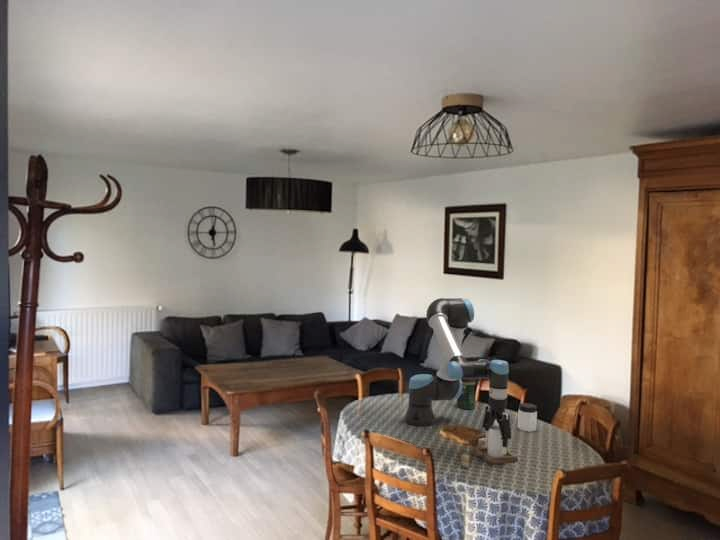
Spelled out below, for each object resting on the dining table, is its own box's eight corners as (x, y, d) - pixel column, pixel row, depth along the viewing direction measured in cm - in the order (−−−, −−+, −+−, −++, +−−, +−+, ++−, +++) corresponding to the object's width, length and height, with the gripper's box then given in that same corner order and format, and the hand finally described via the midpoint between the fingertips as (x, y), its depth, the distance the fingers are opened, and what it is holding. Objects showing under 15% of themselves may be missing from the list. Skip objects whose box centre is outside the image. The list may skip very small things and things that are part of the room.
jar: (527, 433, 273) (528, 408, 272) (514, 428, 280) (515, 404, 279) (539, 430, 278) (540, 406, 277) (526, 425, 285) (527, 402, 284)
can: (485, 453, 241) (486, 425, 241) (500, 453, 242) (501, 425, 241) (490, 458, 235) (491, 430, 234) (505, 458, 235) (506, 430, 235)
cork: (459, 465, 228) (459, 454, 228) (466, 464, 229) (466, 453, 229) (463, 468, 225) (464, 457, 225) (470, 467, 226) (471, 456, 226)
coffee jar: (477, 408, 313) (478, 375, 312) (466, 410, 308) (468, 377, 308) (464, 404, 321) (465, 372, 320) (454, 406, 316) (455, 373, 315)
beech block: (478, 448, 249) (478, 439, 249) (483, 446, 252) (483, 437, 251) (485, 451, 246) (486, 442, 246) (491, 449, 249) (491, 440, 248)
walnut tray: (473, 453, 242) (473, 449, 242) (498, 450, 247) (498, 446, 247) (491, 464, 230) (491, 459, 230) (517, 461, 235) (517, 456, 235)
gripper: (475, 391, 246) (473, 442, 247) (507, 405, 226) (504, 460, 227) (489, 390, 249) (487, 440, 250) (522, 403, 229) (519, 458, 229)
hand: (495, 449), depth 238 cm, fingers open, 9 cm apart
